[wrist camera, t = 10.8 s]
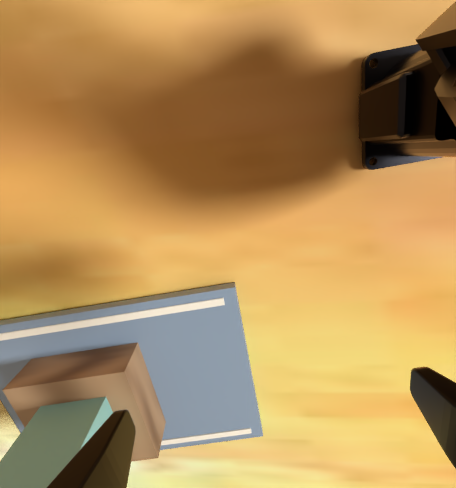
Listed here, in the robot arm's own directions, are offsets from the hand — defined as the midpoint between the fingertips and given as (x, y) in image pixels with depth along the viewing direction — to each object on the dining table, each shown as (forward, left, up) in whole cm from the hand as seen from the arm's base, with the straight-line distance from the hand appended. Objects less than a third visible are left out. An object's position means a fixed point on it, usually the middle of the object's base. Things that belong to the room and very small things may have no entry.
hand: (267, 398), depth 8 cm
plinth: (+14, +10, -11) cm, 21 cm away
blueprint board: (+12, +10, -12) cm, 20 cm away
